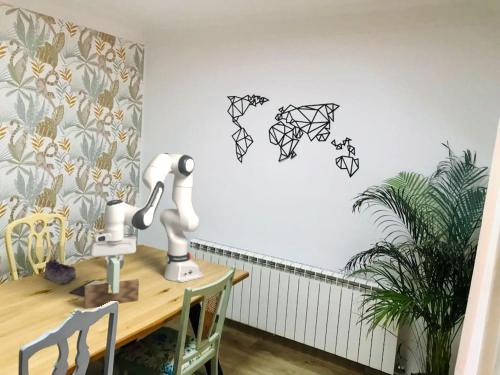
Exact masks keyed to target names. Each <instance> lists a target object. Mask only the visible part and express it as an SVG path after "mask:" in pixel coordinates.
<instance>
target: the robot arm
mask: <svg viewBox="0 0 500 375" xmlns="http://www.w3.org/2000/svg"><path fill="white" fill-rule="evenodd" d="M194 170H195V162H194V158H193V157H191V155H187V154H182V153H174V152H173V153H168V152H165V153H163V152H162V153H157V154H156V155H155V156H154V157H153V158H152V159H151V160H150V162H149V163H148V164H147V166H146V167H145V169H144V170H143V172H142V174H141V181H142V183H143V185H144V186H146V188H147V189H149V194H148V197H147V199H146V201H145V204H144V205H143V206H142V207H140V206H135V205H131V204H128V203H127V202H124V200H122V199H111V200H109V201H107V203H106V204H105V206H104V207H105V208H104V214H103V215H104V218H103V220H104V227H103V230H102V231H100V232H96V233H93V236H92V237H93V238H92V241H91V243H90V246H89V254H90V256H91V257H92V258H97V257H104V258H105V260H106V266H107V265H110V264H111V261H110V260H108V259H107V258H108V256H110V255H118V256H119V257H118V259H117V260H118V261H119V262H120V259H121V258H122V254H124V255H129V254H131V255H132V254H135V253H136V252H137V244H136V242H137V235H136V234H134V233H125V226H127V227H132V228H135V229H137V230H139V231H144V230H147V229H148V228H150V227H151V226H152V224H153V221H154V218H155V214H156V211H157V210H158V206H159V204H160V201H161V199H162V196H163V194H164V192H165V184H164V183H165V180H166V179H167V176H168V174H172V175H174V178H173V182H172V192H171V200H172V202H173V203H174V204H175V206H176V209H175V208H165V209H163V210H162V211H161V212H160V215H159V221H160V223H161V225H162V226H163V228H164V230H165V232H166V235H167V236H166V237H167V240H168V241H167V242H168V243H167V253H166V268H165V271H164V275H163V278H164V279H165V280H168V281H171V282H172V281H174V282H178V283H186V282H189V281H193V280H198V279H202V278H203V277H204V273H203V272H202V271H201V270H200V266H199V265H198V263H196V261H194V260H193V258H194V255H193V254H192V253H190V252H189V251H188V249H189V248H188V247H189V240H188V237H187V236H186V235H185V234H184V232H186V233H187V232H189V233H192V232H195V231H196V230H198V228H199V227H200V217H199V216H198V214H197V213H196V211H195V209H194V207H193V201H192V200H193V188H194V172H193V171H194Z"/></svg>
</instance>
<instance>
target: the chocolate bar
mask: <svg viewBox="0 0 500 375" xmlns="http://www.w3.org/2000/svg"><path fill="white" fill-rule="evenodd" d="M104 283H106V282H104V281H101V280H95V279H93V280H90V281H88V282H87V283H84V284H82V285H80V286H79V287H77V288H74V289H72V290H71V291H69V292H68V294H70V295H74V296H78V297H83V298H84V292H85V286H89V285H96V284H104Z"/></svg>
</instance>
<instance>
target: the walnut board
mask: <svg viewBox="0 0 500 375" xmlns="http://www.w3.org/2000/svg"><path fill="white" fill-rule="evenodd" d="M139 283H140V281H139V279H138V278H137V279H129V280H128V279H127V280H122V281H120V280H119V293H113V292H112V291H111V292H109V286H110V285H108V283H107V282H105V283H104V284H96V285H89V286H85V292H84V297H83V298H84V299H83V301H84V302H83V303H84V304H83V305H84V306H83V307H84V310H85V309H86V310H88V309H94V308H100V307H99V306H101V307H103V306H102V305H104V304H106V303H108V302H110V301H118V302H119V304H126V303H131V302H137V301H139V293H140V292H139V289H140V284H139ZM119 304H118V305H119Z"/></svg>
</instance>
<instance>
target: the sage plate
mask: <svg viewBox="0 0 500 375" xmlns="http://www.w3.org/2000/svg"><path fill="white" fill-rule="evenodd" d="M107 259H108V260H110V261H111V264H110V265H107V264H106V283H108V285H109V286H110V291H111V293H112V292H113V293H119V282H120V273H121V272H120V271H121V270H120V263H119V261H118V260H117V258H116V257H115V255H110V256H108V258H107Z"/></svg>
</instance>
